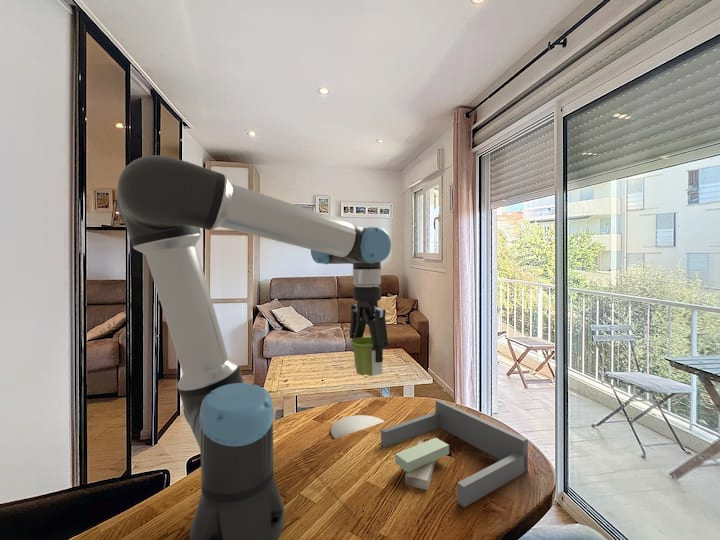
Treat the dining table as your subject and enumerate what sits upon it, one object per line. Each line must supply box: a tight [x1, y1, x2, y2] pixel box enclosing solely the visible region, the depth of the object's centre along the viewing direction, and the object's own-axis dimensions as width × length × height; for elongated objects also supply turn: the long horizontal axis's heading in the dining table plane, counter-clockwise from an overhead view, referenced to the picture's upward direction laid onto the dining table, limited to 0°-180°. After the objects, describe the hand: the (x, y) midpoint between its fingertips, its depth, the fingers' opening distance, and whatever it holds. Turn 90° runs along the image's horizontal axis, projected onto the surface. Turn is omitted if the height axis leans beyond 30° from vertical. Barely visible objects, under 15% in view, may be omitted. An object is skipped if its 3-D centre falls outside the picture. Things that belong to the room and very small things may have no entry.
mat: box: [330, 414, 385, 440], centre depth 92 cm, size 16×16×1 cm
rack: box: [380, 399, 529, 508], centre depth 77 cm, size 20×26×8 cm
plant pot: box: [350, 336, 384, 377], centre depth 90 cm, size 9×9×9 cm
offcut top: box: [394, 437, 450, 473], centre depth 73 cm, size 4×12×2 cm, turn 123°
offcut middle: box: [404, 440, 437, 491], centre depth 73 cm, size 4×14×2 cm, turn 159°
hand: (367, 369), depth 90 cm, fingers closed on plant pot, 8 cm apart
